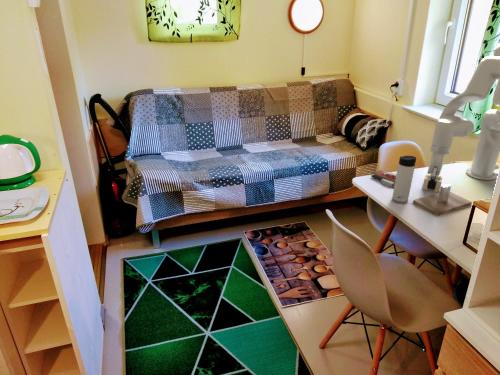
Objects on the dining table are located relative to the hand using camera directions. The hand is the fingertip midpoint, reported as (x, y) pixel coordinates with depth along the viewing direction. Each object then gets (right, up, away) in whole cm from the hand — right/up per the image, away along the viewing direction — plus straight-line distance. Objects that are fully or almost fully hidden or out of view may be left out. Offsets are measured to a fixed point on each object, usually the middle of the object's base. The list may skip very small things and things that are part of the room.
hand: (431, 185), depth 171 cm
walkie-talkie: (-16, 0, +5) cm, 17 cm away
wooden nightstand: (0, -1, +1) cm, 1 cm away
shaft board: (-2, -8, -13) cm, 16 cm away
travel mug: (-18, -7, -10) cm, 22 cm away
